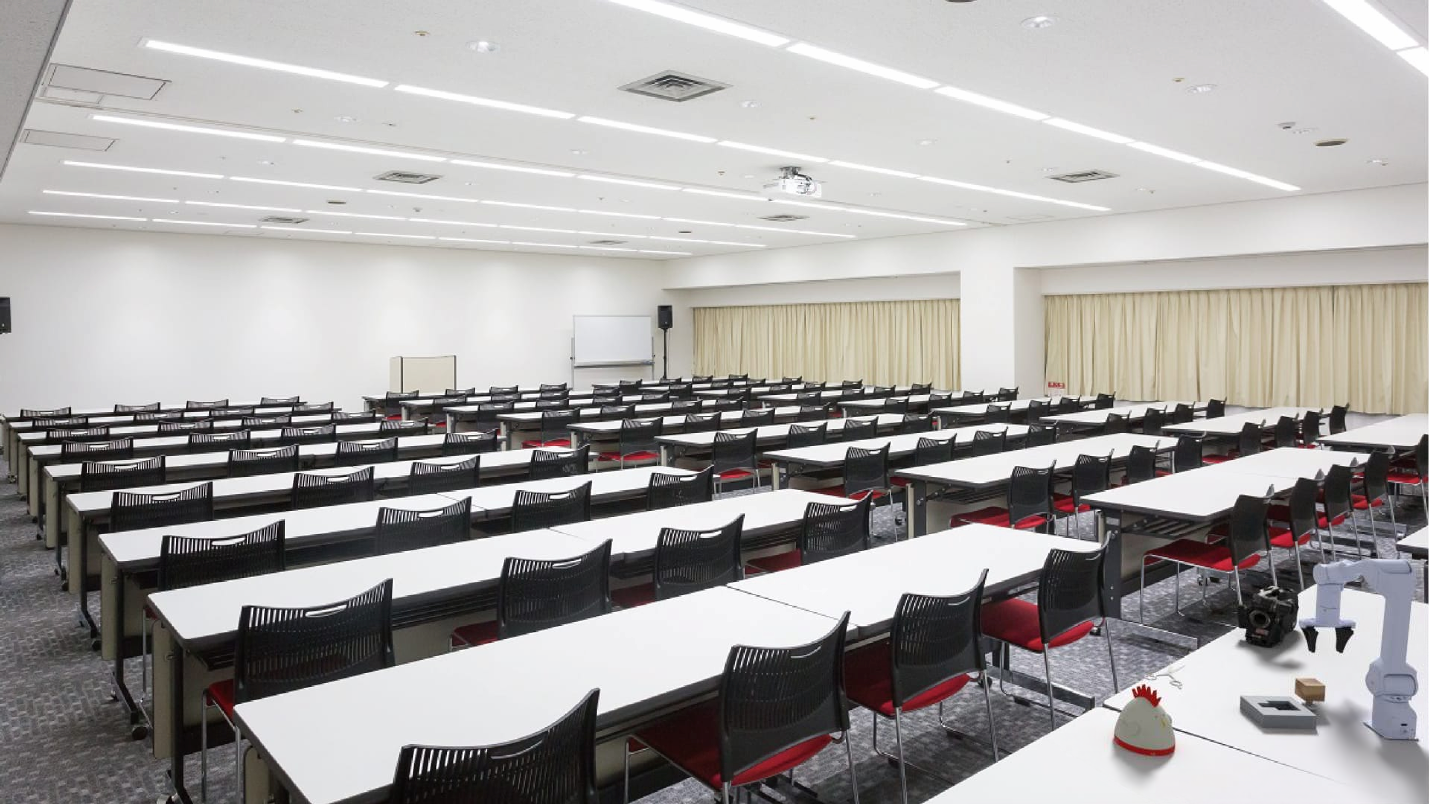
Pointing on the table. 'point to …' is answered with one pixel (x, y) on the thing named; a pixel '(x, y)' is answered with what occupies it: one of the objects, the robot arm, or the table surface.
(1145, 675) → the scissors
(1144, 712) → the kitchen timer
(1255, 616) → the movie camera
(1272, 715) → the square hole plate
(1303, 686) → the peg
